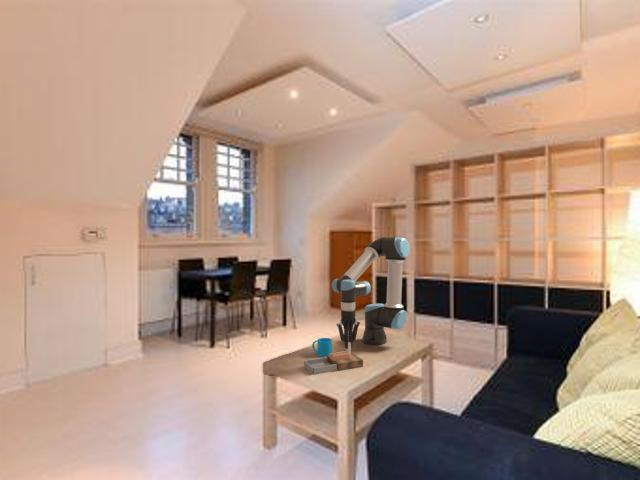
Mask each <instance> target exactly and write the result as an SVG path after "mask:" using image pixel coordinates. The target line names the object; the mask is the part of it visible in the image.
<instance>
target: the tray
mask: <svg viewBox="0 0 640 480" xmlns="http://www.w3.org/2000/svg"><path fill="white" fill-rule="evenodd" d="M303 366H304V368H305V369H306V370H307V371H309V372H310V373H311V374H312V375H319V374H325V373H329V372H334V371H338V370H337V364H333V365H331V364H330V363H328V362H327V357H319V358H313V359H306V360H303Z"/></svg>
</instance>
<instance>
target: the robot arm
mask: <svg viewBox="0 0 640 480" xmlns="http://www.w3.org/2000/svg"><path fill="white" fill-rule="evenodd" d="M410 252H411V246H410V243H409V241H408V240H407V239H406V238H405V237H399V236H397V237H396V236H392V237H391V236H388V237H387V236H381V237H378V238H377V239H374V241H371V242H370V243H369V244H368V245H367V246H366V247H365V248H364V252H363V253H362V254H361V255H360V256H359V258H358V259H357V260H356V261H355V262H354V263H353V264H352V265H351V266H350V267H349V269H348V270H347V271H345V273H344V274H343V275H342V276H341V277H340V278H335V279H333V281H332V283H331V289H332V291H333V292H336V293H339V294H340V309H341V310H340V321H339V322H338V323H336V327H337V328H338V332H339V333H338V334H339V336H340V341H341V342H343V343H344V349H345V351H346V352H347V353H349V355H351V353H352V348H353V343H354V342H355V341H356V339H357V334H358V330H359V326H360V324H361V322H360V321H357V318H356V298H357V297H363V296H367V295H369V294H370V293H371V292H372V291H371V290H372V287H371V284H370V282H368V281H367V280H361V281H358V279H359V278H360V277H361V276H362V275H363V274H364V273H365V271H366V270H367V269H368V268H369V267H370V266H371V264H372V263H373V262H374V261H377V260H378V259H380V257H385V261H386V262H387V279H386V281H387V284H386V303H385V304H384V303H371V304H367V305H366V306H365V308H364V331H363V334H362V337H361V340H362V343H364V344H367V345H374V346H378V345H379V346H380V345H385V344H387V342H388V338H387V334H386V331H385V328H388V329H392V330H402V329H403V328H404V327H405V325H406V324H407V322H408V313H407V311H406V310H404V307H405V306H404V305H403V304H402V295H403V294H402V290H403V289H402V288H403V264H404V262H406V259H407V258H409V256H410Z"/></svg>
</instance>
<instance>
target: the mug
mask: <svg viewBox="0 0 640 480" xmlns="http://www.w3.org/2000/svg"><path fill="white" fill-rule="evenodd" d="M316 343H317V349H316V347H315V344H316ZM311 346H312V347H311V348H312V349H313V351H314V352H316V353H317V356H319V357H320V358H324V357H327V355H330V353H333V339H332V338H329V337H321V338H318V339H317V340H315V341H313V342H312V344H311Z"/></svg>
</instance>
